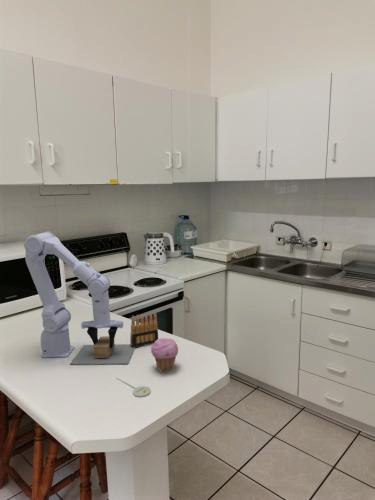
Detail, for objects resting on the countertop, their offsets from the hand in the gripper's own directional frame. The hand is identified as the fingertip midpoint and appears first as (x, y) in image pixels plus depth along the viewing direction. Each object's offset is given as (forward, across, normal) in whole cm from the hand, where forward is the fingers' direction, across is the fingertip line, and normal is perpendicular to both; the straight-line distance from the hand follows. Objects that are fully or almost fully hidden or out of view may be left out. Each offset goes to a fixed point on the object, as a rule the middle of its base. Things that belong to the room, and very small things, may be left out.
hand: (104, 346), depth 133 cm
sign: (+4, +14, -21) cm, 25 cm away
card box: (+2, 0, 0) cm, 2 cm away
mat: (+3, 0, 0) cm, 3 cm away
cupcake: (+3, +23, -10) cm, 25 cm away
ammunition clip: (+3, +13, +8) cm, 16 cm away
